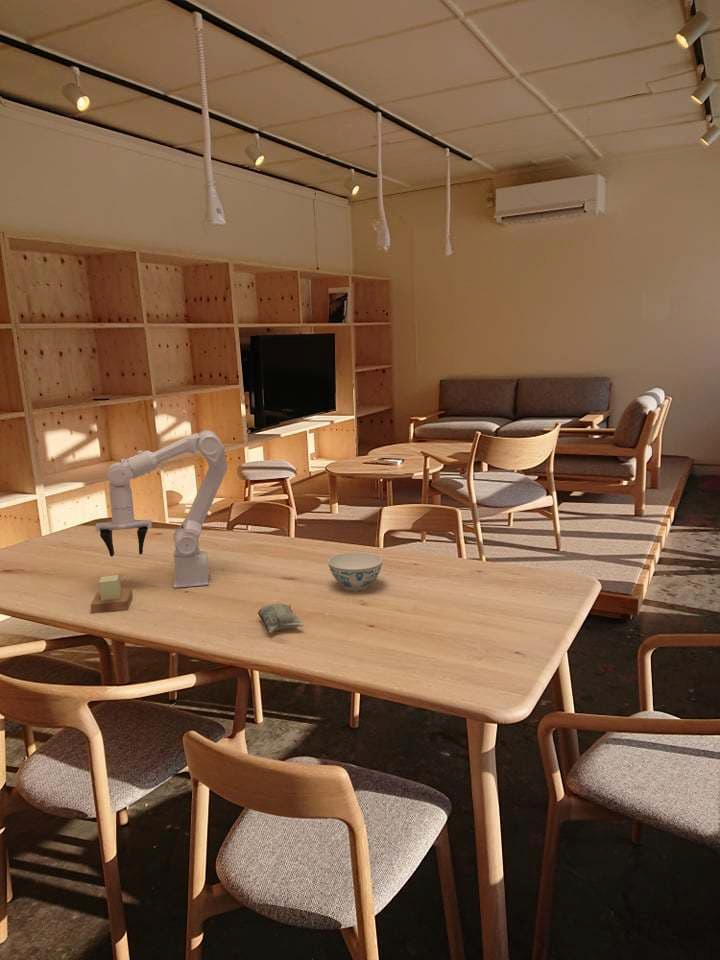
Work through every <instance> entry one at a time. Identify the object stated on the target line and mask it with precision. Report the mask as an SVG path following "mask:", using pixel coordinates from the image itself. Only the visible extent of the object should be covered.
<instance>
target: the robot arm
mask: <svg viewBox="0 0 720 960" xmlns="http://www.w3.org/2000/svg"><path fill="white" fill-rule="evenodd" d="M198 451H199V452H200V454H201V455H202V456H203V457H204V459H205V461H206V463H207V466H208V469H207V471H206V473H205V475H204V478H203V479H202V482H201V484H200V486H199V488H198V491H197V493H196V495H195V497H194V500H193V502H192V504H191V507H190V509H189V512H188V513H187V515H186V517H185V518H184V520H183V521H182V524H181V525H180V526H179V527H177V529H176V530H175V531H174V533H173V542H174V547H175V550H174V551H173V561H174V572H175V573H174V574H175V578H174V583H173V588H174V589H176V588H177V589H178V588H187V587H198V586H199V587H200V586H201V587H202V586H209V580H210V576H211V575H210V570H209V561H208V559H209V558H208V551H202V550H200V548H199V538H200V535H201V532H202V528H203V525H204V522H205V520H206V518H207V515H208V514H209V512H210V509H211V506H212V504H213V502H214V499H215V497H216V495H217V492H218V491H219V488H220V487H221V484H222V482H223V479H224V478H225V475H226V473H227V470H228V462H227V456H226V450H225V446H224V444H223V442H222V441H221V439H220V438H219V437H218V435H217V434H216V433H215V432H214V431H212V430H208V429H206V430H202V431H200V432H199V433H197V432H195V433H192V434H190V435H188V436H185V437H183V438H181V439H179V440H176V441H174V442H172V443H169V444H168V445H165V446H164V447H162V448H159V449H158V450H156V451H154V452H153V451H150V450H144V451H143V450H141V449H140V450H139V451H137V454H135V455H133V456H131V457H128V458H126V459H125V458H122V459H121V460H120V462H119V461H118V462H114V463H112V464H111V465H110V466H109V467H108V469H107V474H106V475H107V481H108V482H109V485H108V487H109V489H110V490H109V501H110V510H111V521H106V522H97V523H95V526H94V527H95V533H99V537H100V538H101V540H102V541H103V542H104V543H105V544H104V545H105V546H106V548H107V551H108V553H109V556H110V557H114V555H115V549H114V543H113V531H115V530H116V531H118V530H119V531H120V530H131V529H132V530H133V529H137V531H136V535H137V539H138V540H137V541H138V554H139V555H143V551H144V544H145V543H144V542H145V539H146V535H147V533H148V530H149V529H152V526H153V525H152V523H153V522H152V519H135V512H134V511H135V510H134V503H133V502H134V501H133V492H132V488H131V483H130V482H131V479H132V480H133V479H134V480H135V479H137V478H140V477H142V476H144V475H146V474H148V473H151V472H153V471H156V470H157V468H158V465H159V464H160V463H162V462H164V461H167V460H169V459H172V458H175V457H177V456H180V455H182V454H184V453H188V454H195V455H197V454H198Z"/></svg>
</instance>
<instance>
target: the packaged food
mask: <svg viewBox="0 0 720 960" xmlns="http://www.w3.org/2000/svg"><path fill="white" fill-rule="evenodd" d="M257 614H258V616H259V618H260V619H261V622H263V624H264V625H265V629H266V630H267V632H269V633H270V634H273V633H278V632H284V631H288V630H293V629H296V628H298V627H302V628H303V627H304V624H303V622H302V620H301V619H299V618H298V616H297V615H296V614H295V613H294V612H293V609H292V604H284V603H279V602H275V603H273V604H269V605H266V606H262V607H261V608H260V609H259V610H258V611H257Z"/></svg>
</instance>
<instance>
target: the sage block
mask: <svg viewBox="0 0 720 960" xmlns="http://www.w3.org/2000/svg"><path fill="white" fill-rule="evenodd" d="M98 586H99V592H100V596H101V601H102V600H111V599H119V598H120V594H121V590H122V589H121V583H120V575H119V574H116V575H114V574H113V575H106V576H101V577H100V578H99V580H98Z"/></svg>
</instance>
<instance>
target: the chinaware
mask: <svg viewBox="0 0 720 960" xmlns="http://www.w3.org/2000/svg"><path fill="white" fill-rule="evenodd" d="M327 564H328V567H329V570H330V572H331V575H332V576H333V578H334V579H335V580H336V581H337V582H338V583H340V585H342V586H343V588H344V589H345V590H347V589H348V590H347V591H350V590H354V591H353V592H359V591H358V590H361V591H364V590H366V589H368V588H367V587H369V585H370V584H371V583H373V582H374V581H375V580H376V579H377V577H378V576H379V574H380V572H381V569H382V566H383V558H382V557H381V556H380V555H378V554H375V553H372V552H365V551H350V552H349V551H348V552H342V553H338V554H335V555H332V556H331V557H330V558H328V560H327ZM363 589H364V590H363Z"/></svg>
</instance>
